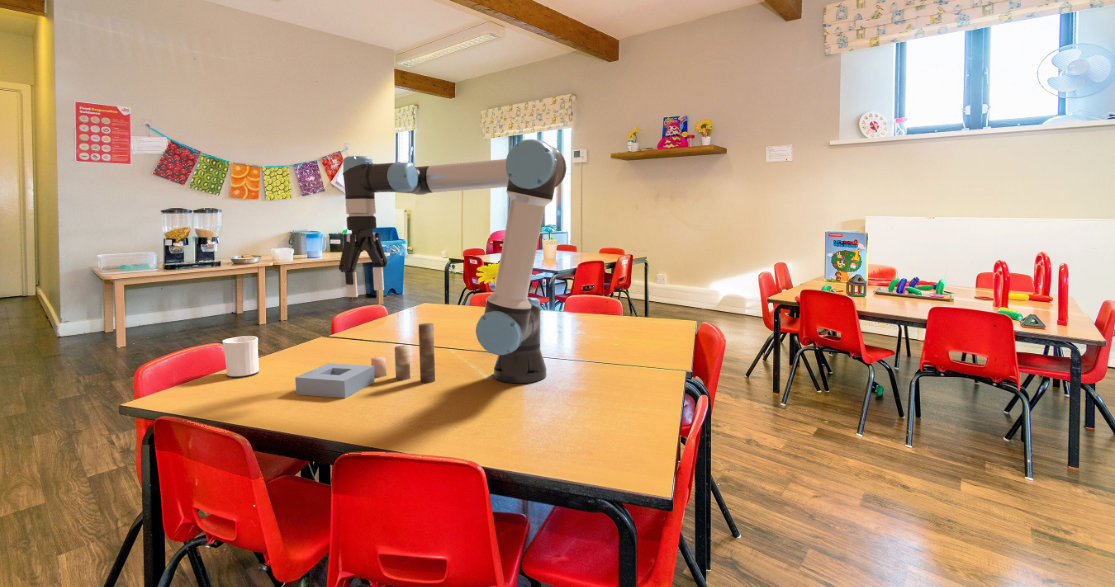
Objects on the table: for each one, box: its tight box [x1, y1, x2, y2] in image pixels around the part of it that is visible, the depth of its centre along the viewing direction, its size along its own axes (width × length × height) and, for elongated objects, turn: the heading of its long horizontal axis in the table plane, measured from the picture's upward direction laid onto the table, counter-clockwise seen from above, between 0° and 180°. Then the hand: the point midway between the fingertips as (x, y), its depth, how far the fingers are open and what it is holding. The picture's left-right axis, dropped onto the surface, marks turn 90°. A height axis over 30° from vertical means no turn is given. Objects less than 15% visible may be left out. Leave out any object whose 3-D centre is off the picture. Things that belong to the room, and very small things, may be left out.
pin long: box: [418, 322, 436, 384], centre depth 151 cm, size 4×4×16 cm
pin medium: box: [394, 345, 411, 381], centre depth 154 cm, size 4×4×9 cm
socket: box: [294, 362, 375, 399], centre depth 145 cm, size 14×14×4 cm
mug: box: [222, 335, 260, 379], centre depth 157 cm, size 11×9×10 cm
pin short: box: [370, 356, 387, 378], centre depth 157 cm, size 4×4×5 cm
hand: (366, 293), depth 149 cm, fingers open, 13 cm apart
